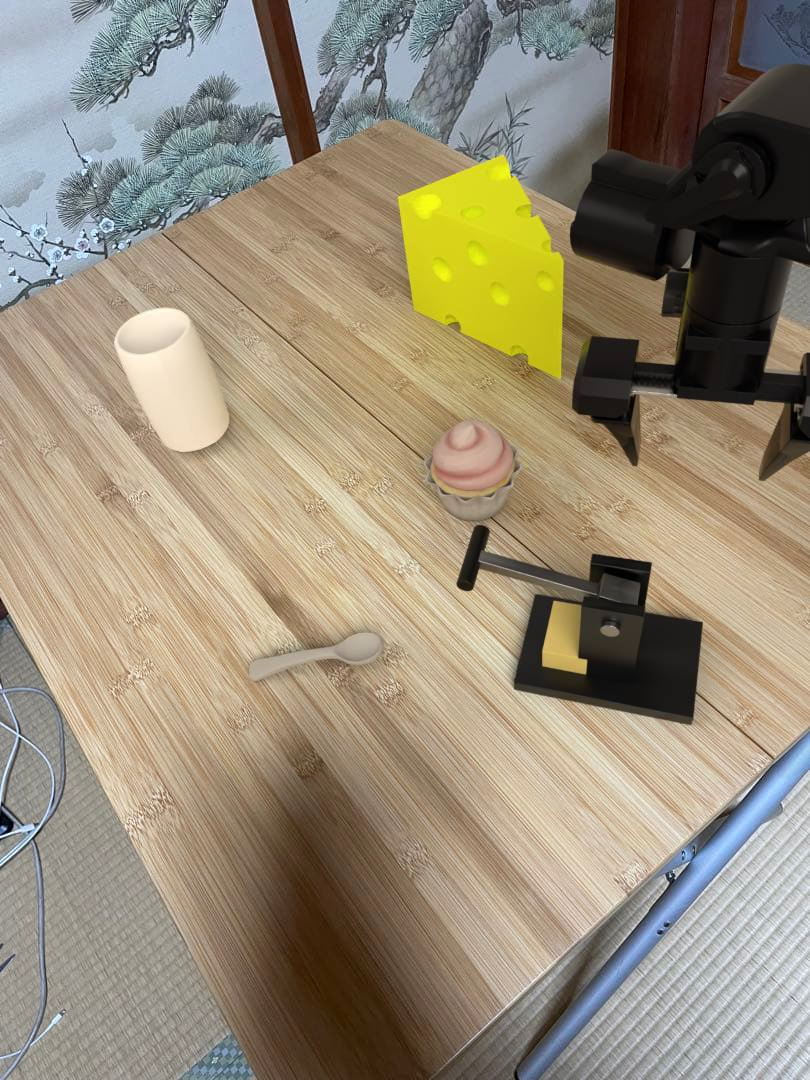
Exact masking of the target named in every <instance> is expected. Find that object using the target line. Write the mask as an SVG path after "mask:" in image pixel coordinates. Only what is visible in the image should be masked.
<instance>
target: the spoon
mask: <svg viewBox="0 0 810 1080" xmlns="http://www.w3.org/2000/svg"><path fill="white" fill-rule="evenodd" d="M384 649H385V645H384V641H383V638H381V637H380V636H379V635H378V634H377V633H373V632H365V631H364V632H357V633H355V634H352V635H350V636H348V637H347V638H345V639H344V640H343V641H341V642H340V643H338V644H335V645H332V646H325V647H318V648H317V647H316V648H309V649H304V650H297V651H292V652H289V653H285V654H280V655H275V656H269V657H263V658H258V659H255V660H252V661H251V662H250V663H249V667H248V675H249V679H250V681H252V682H259V681H261V680H264V679H267V678H268V677H272V676H273V675H276V674H278V673H280V672H283V671H285V670H288V669H291V668H294V667H297V666H300V665H304V664H308V663H311V662H316V661H322V660H329V659H330V660H331V659H336V660H340V661H342V662H344V663H345V664H348V665H351V666H364V665H368V664H370V663H372V662H374V661H376V660H377V659H378V658H379V657H380V656H381V655H382V653H383V651H384Z"/></svg>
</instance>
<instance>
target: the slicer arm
mask: <svg viewBox="0 0 810 1080" xmlns="http://www.w3.org/2000/svg"><path fill="white" fill-rule="evenodd" d="M490 534H491V530H490V528H489V527H487V526H486V525H484V524H476V525H475V526H473V529H472V532H471V535H470V538H469V541H468V545H467V548H466V551H465V554H464V557H463V561H462V565H461V567H460V570H459V573H458V577H457V580H456V583H455V585H456V587H457V588H458V589H459V590H460V591H464V592H471V591H473V590H474V588H475V585H476V581H477V578H478V574H479V571H480V570H482V571H484V572H485V571H486V572H488V573H489V572H490V573H492V574H496V575H499V576H503V577H507V578H510V579H514V580H516V581H520V582H524V583H528V584H531V585H534V586H537V587H542V588H544V589H548V590H552V591H555V592H559V593H563V594H565V595H569V596H573V597H576V598H579V599H583V597H584V596H586V597H592V598H598V599H604V600H610V601H616V602H622V603H628V604H634V605H637V603H638V597H639V590H640V583H638V582H634V581H631V580H627V579H624V578H620V577H616V576H613V575H609V574H606V573H603V575H602V577H601V579H600V582H599V583H595V582H592V581H589V579H585V578H582V577H578V576H574V575H571V574H567V573H564V572H560V571H556V570H554V569H549V568H546V567H542V566H539V565H535V564H532V563H528V562H525V561H521V560H518V559H515V558H510V557H508V556H504V555H500V554H497V553H493V552H490V551H487V550H486V548H487V544H488V542H489V537H490Z"/></svg>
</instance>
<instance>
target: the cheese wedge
mask: <svg viewBox="0 0 810 1080" xmlns="http://www.w3.org/2000/svg"><path fill="white" fill-rule="evenodd" d="M505 156H506V155H504V154H501V155H498V156H496V157H493V158H491V159H488V160H486V161H483V162H481V163H479V164H476V165H474V166H471V167H469V168H466V169H463V170H461V171H458V172H456V173H454V174H452V175H449V176H446V177H444V178H441V179H439V180H436V181H434V182H431V183H429V184H426V185H424V186H422V187H419V188H416V189H414V190H411V191H409V192H407V193H405V194H402V195H400V196H398V197H397V202H398V209H399V215H400V223H401V230H402V236H403V237H402V238H403V245H404V251H405V252H404V253H405V257H406V266H407V272H408V280H409V286H410V293H411V300H412V307H413V311H414V312H417V313H419V314H421V315H423V316H425V317H427V318H428V319H432V320H434V321H436V322H437V323H440V324H442V325H444V326H446V327H447V326H448V325H450V324H452V323H458V324H459V327H460V331H459V332H460V333H461V334H463V335H465V336H468V337H469V338H472V339H474V340H476V341H478V342H481V343H483V344H485V345H487V346H489V347H491V348H493V349H495V350H497V351H500V352H501V353H504V354H506V355H508V356H510V357H513V356H516V355H518V354H524V355H527V365H529V366H531V367H533V368H535V369H537V370H540V371H542V372H544V373H546V374H548V375H550V376H553V377H555V378H557V379H559V380H562V355H563V354H562V351H563V350H562V349H563V315H564V313H563V312H564V310H563V308H564V307H563V306H564V273H565V272H564V269H565V268H564V267H565V265H564V264H565V261H564V258H563V257H562V255H561V253H560V251H554V252H553V251H552V237H551V235H550V234H549V232H548V230H547V228H546V227H545V224H544V223H543V222H542V220H541V218H540V216H539V215H538V214H536V215H535V216H532V213H531V212H532V205H533V204H532V202H531V200H530V199H529V196H528V195H527V193H526V191H525V190H524V188H523V186H522V185H521V183H520V181H519V179H518V177H517V176H516V175H514V176H512V174H511V171H510V170H511V169H510V163H509V162H508V160H507V158H506V157H505Z"/></svg>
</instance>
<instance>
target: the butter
mask: <svg viewBox="0 0 810 1080" xmlns="http://www.w3.org/2000/svg"><path fill="white" fill-rule="evenodd" d="M581 606H582V605H577V604H571V603H565V602H559V601H554V602H553V606H552V611H551V615H550V619H549V624H548V628H547V633H546V637H545V641H544V646H543V650H542V666H544V667H549V668H554V669H560V670H565V671H570V672H575V673H581V674H586V668H587V660H584V659H579V658H578V651H579V636H580V620H581Z"/></svg>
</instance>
